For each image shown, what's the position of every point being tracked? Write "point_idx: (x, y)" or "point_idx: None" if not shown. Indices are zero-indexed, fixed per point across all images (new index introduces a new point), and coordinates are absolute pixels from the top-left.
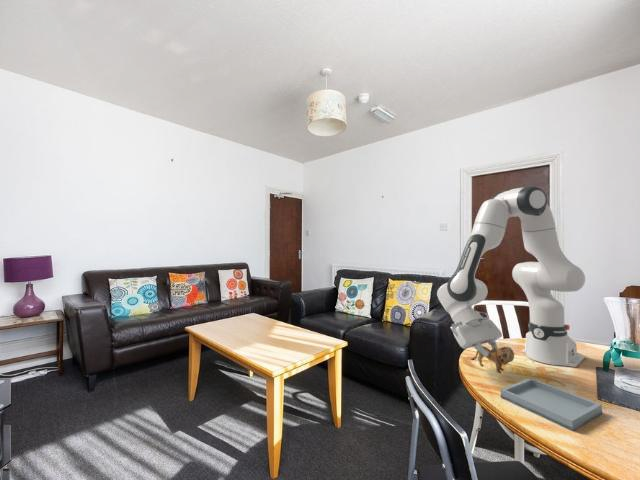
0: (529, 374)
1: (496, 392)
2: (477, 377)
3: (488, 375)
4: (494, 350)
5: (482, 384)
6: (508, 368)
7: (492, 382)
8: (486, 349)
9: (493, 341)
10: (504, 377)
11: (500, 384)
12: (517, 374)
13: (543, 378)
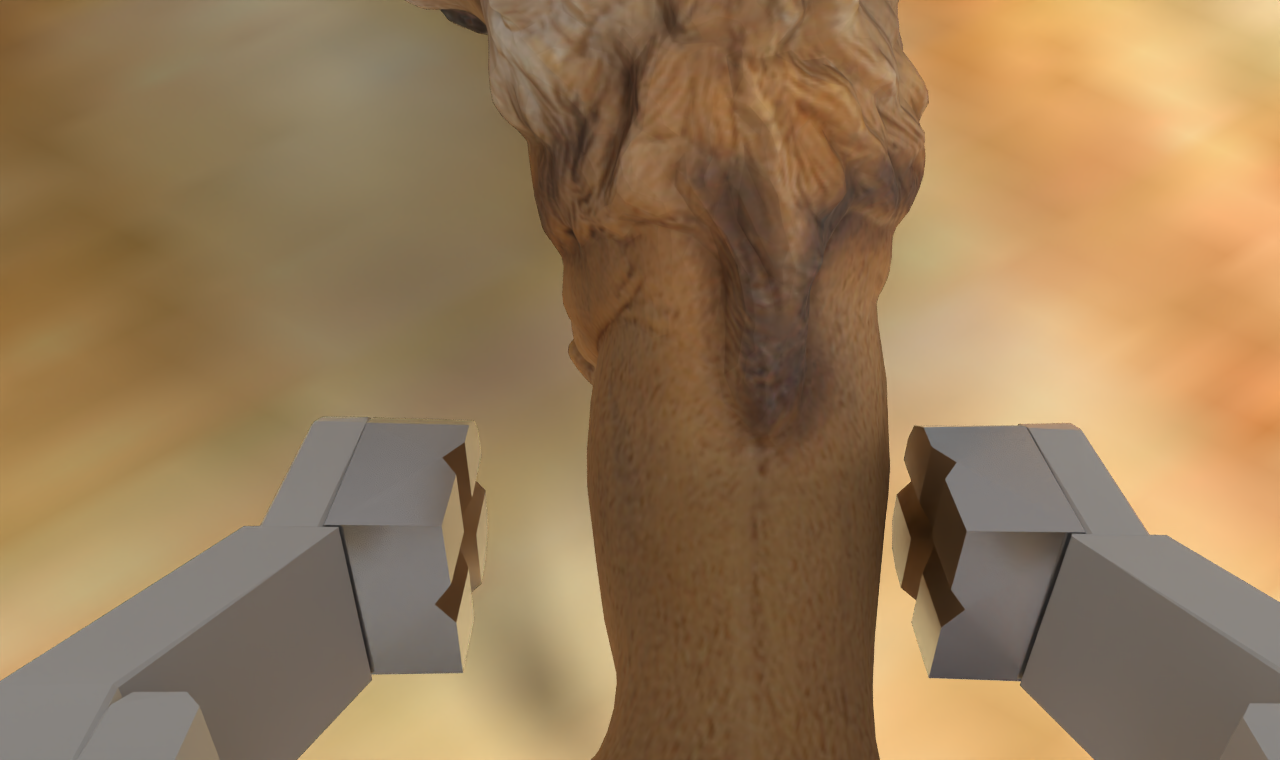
0: (43, 225)
1: (1224, 109)
2: None
3: None
4: (807, 300)
5: (1203, 385)
6: (77, 571)
7: (963, 348)
8: (824, 656)
9: (134, 728)
10: (568, 366)
11: (903, 238)
12: (227, 326)
13: (24, 37)
